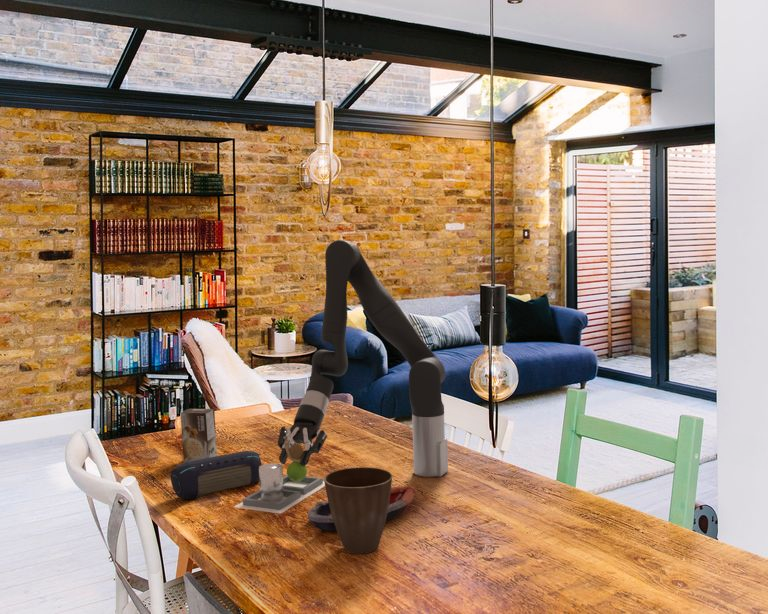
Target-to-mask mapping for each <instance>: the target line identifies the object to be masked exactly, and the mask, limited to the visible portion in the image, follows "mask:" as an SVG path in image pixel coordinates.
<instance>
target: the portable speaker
mask: <svg viewBox="0 0 768 614" xmlns="http://www.w3.org/2000/svg"><path fill="white" fill-rule="evenodd" d="M261 465H263V464H262V460H261V457H260V455H259V453H258V452H256V451H252V450H243V451H242V450H241V451H237V452H232V453H226V454H222V455H217V456H215V457H210V458H205V459H199V460H194V461H189V462H184V461H183V463H182V462H181V463H180V464H178V465H175V466H174V467H173V468H172V470H171V471H170V481H171V487H172V489H173V491H174V493H175V495H176V496H177V497H178V498H179V499H182V500H194V499H199V498H201V497H204V496H206V495H208V494H211V493H216V492H221V491H224V490H229V489H235V488H238V487H243V486H247V485H253V484H257V483H258V482H259V467H260V466H261Z"/></svg>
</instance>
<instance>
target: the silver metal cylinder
mask: <svg viewBox="0 0 768 614" xmlns="http://www.w3.org/2000/svg"><path fill="white" fill-rule="evenodd" d="M283 468H284V467H283V464H281V463H276V462H274V463H271V462H270V463H266V464H264V463H263V464H262V465H261V466H260V467H259V481H258V482H259V483H258V484H259V490H260V500H264V501H272V502H280V501H282V500H283V499H284V491H283V477H284V476H283V475H284V472H283V470H284V469H283Z"/></svg>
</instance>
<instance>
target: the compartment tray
mask: <svg viewBox="0 0 768 614" xmlns="http://www.w3.org/2000/svg"><path fill="white" fill-rule="evenodd" d="M324 487H325V482H324V478H323V477H316V476H307V475H306V477H305V478H304V479H303V480H301V481H299V482H295V481H292V480H291V479H289V477H288V475H287V474H286V475H284V476H283V491H284V499H283V500H282V501H280V502H272V501H264V500H260V489H259V490H257V491H255V492H253V493H251V494H249V495H247V496H246V497H244V498H242V501H241V502H240V503H238V504H236V505H234V506H233V508H237V509H238V508H239V509H244V510H253V511H258V512H265V513H267V512H268V513H274V514H283V513H284V512H286V511H288V510H289V509H291V508H292V507H294V506H296V505H298V503H300V502H302V501H303V500H305V499H306V498H308V497H310V496H311V495H313V494H315V493H316V492H318V491H319V490H321V489H323V488H324Z"/></svg>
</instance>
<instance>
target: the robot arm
mask: <svg viewBox="0 0 768 614" xmlns="http://www.w3.org/2000/svg"><path fill="white" fill-rule="evenodd" d="M324 255H325V256H324V259H325V261H324V262H325V263H324V264H325V297H324V299H325V301H324V309H323V316H322V317H323V318H322V323H321V335H320V337H321V340H322V341H323V342H325V343H327V344H330V345H332V347H333V348H334V350H327V349H318V350H317V351H315V353H314V354H313V355H312V358H311V374H310V377H309V378H310V379H309V382H308V384H307V388H306V390H305V393H304V395H303V396H302V399H301V401H300V404H299V406H298V409H297V411H296V414H295V416H294V420H293V424H292V425H291V426H290V428H288V427H287V428H286V427H285V426H282V427H281V428H280V430H279V436H278V440H277V445H276V446H278V447H279V449H280V450H281V451H280V454H279V457H278V460H279V462H280V464H281V465H285V464H286V462H287V459H288V456H287V453H286V449H285V445H284V440H285V441H288V442H289V448H290V447H291V446H292V445H293V444H299V445H301V444H303V445H304V450H303V454H302V457H301V460H300V464H301V466H304V467H305V466H306V465H308V463H309V461H310V459H311V455H312V454H318V453H320V451H321V449H322V447H323V445H324V444H325V442H326V439H327V438H328V435H327V433H326V432H325V431H324V430H323V429H321V426H322V423H323V421H324V418H325V415H326V412H327V410H328V404H329V401H330V399H331V395H332V393H333V390H334V387H335V385H334V381H332V380H331V378H329V377H327V376H333V377H342V376H344V375H345V374H346V372H347V371H348V366H349V360H348V353H347V345H346V333H347V332H346V331H347V325H348V324H347V323H348V300H347V297H348V296H347V294H348V293H347V292H348V289H347V288H348V283H349V284H350V286H351V287H352V288H353V290H354V291H355V293H356V296H357V297H358V301H359V302H360V305H361V307H362V309H363V311H364V313H365V315H366V317H367V318H368V320H369V321H370V322H371V324H372V326H374V328H375V330H377V332H378V333H379V334H380V335H381V336H382V337H383V339H384V340H386V341H387V342H388V343H390V344H391V345H392V346H393V347H394V348H396V350H398V351H399V352H400V353H401V355H402V356H403V357H404V359H405V360H406V362H407V363H408V365H409V367H410V369H409V372H408V373H409V374H408V391H409V393H408V394H409V403H410V407H411V421H412V424H411V425H412V458H413V474H415V475H416V476H420V477H424V478H427V477H428V478H430V477H442V476H443V475H444V474H446V473H447V472H448V471H449V461H448V460H449V458H448V457H449V456H448V454H449V452H448V439H447V438H446V434H445V433H446V431H445V429H446V428H445V406H444V405H445V404H444V403H443V400H442V386H441V385H442V384H443V383H444V380H445V378H446V369H445V366H444V365H443V363H442V361H441V360H440V359H439V358H438V357H437V356H436V354H434V352H433V351H432V350H431V349H430V348H429V346H428V345H427V344H426V343H425V341H423V340H422V338H421V337H420V336H419V334H418V332H417V331H416V329H415V328H414V326H413V325H412V323H411V321H410V320H409V318H408V317H407V316H406V315H405V313H404V311H403V310H402V309H401V307H400V306H399V304H398V303H397V301H396V300H395V299H394V298H393V296H392V294H390V291H388V290H387V288H385V286H384V285H383V284H382V283H381V282H380V280H379V279H378V278H377V276H376V275H374V273H373V271H372V270H371V268H370V266H369V265H368V263H367V261H366V260H365V258H364V256H363V254H362V252H361V250H360V249H359V247H358V246H357V245H356V244H355V243H353V242H352V241H349V240H345V239H337V240H334V241H332V242H330V244H329V245H328V246H327V247H326V249H325V254H324ZM326 375H327V376H326ZM320 429H321V430H320ZM285 436H287V438H285V439H284V438H283V437H285ZM314 439H315V440H314ZM313 440H314V442H313Z"/></svg>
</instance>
